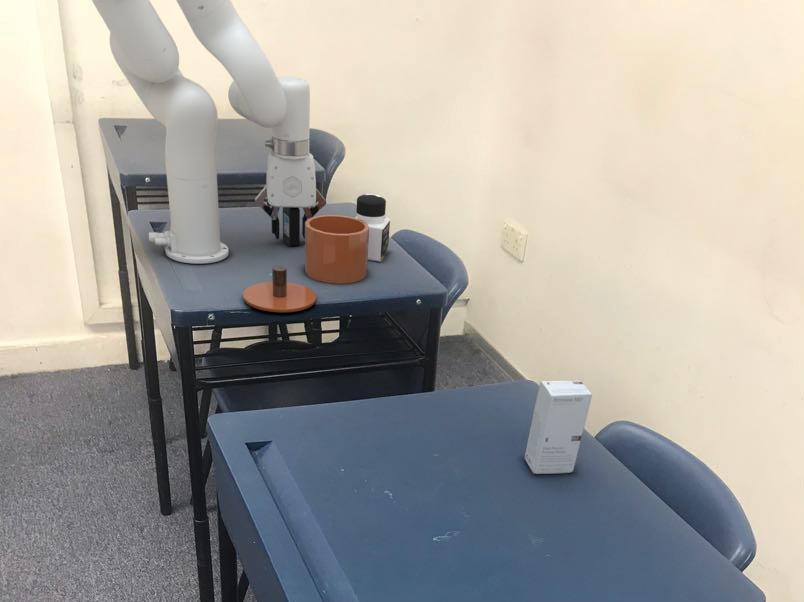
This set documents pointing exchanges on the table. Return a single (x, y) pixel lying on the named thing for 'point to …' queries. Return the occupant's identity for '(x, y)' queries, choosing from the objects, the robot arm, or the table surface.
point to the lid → (279, 294)
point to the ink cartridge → (291, 226)
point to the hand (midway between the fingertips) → (290, 236)
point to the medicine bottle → (374, 224)
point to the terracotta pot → (336, 248)
